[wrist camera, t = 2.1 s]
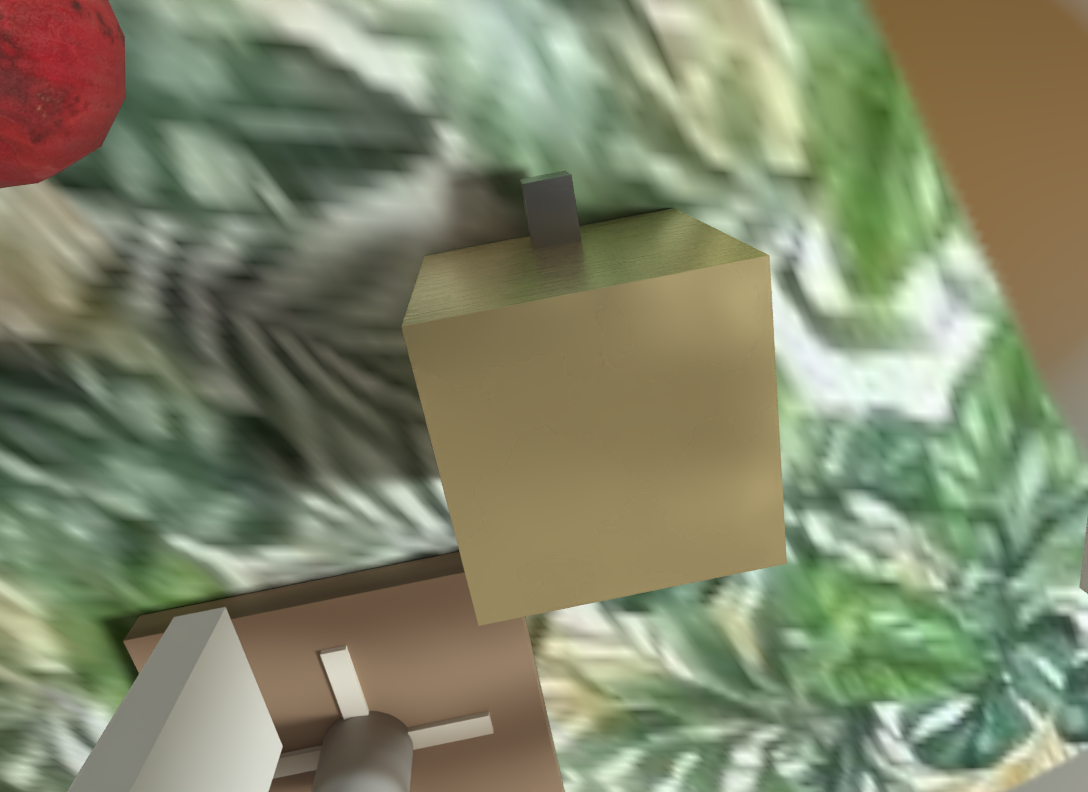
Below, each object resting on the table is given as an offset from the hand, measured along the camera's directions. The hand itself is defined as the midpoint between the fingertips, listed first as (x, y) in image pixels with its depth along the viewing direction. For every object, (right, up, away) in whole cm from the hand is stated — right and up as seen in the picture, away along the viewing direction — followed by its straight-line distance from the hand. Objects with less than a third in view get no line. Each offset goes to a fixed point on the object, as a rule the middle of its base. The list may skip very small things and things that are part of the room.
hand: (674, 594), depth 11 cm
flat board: (-8, -8, +15) cm, 19 cm away
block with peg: (-1, +4, +10) cm, 11 cm away
